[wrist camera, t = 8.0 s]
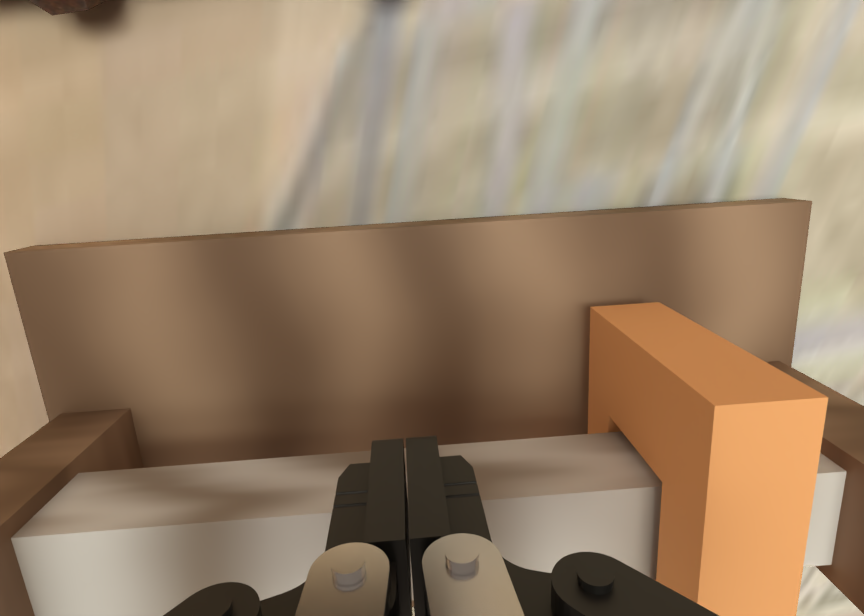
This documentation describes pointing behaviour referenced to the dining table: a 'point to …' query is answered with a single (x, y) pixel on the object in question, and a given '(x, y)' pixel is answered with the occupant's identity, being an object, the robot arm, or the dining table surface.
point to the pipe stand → (370, 392)
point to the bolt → (65, 5)
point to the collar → (712, 454)
